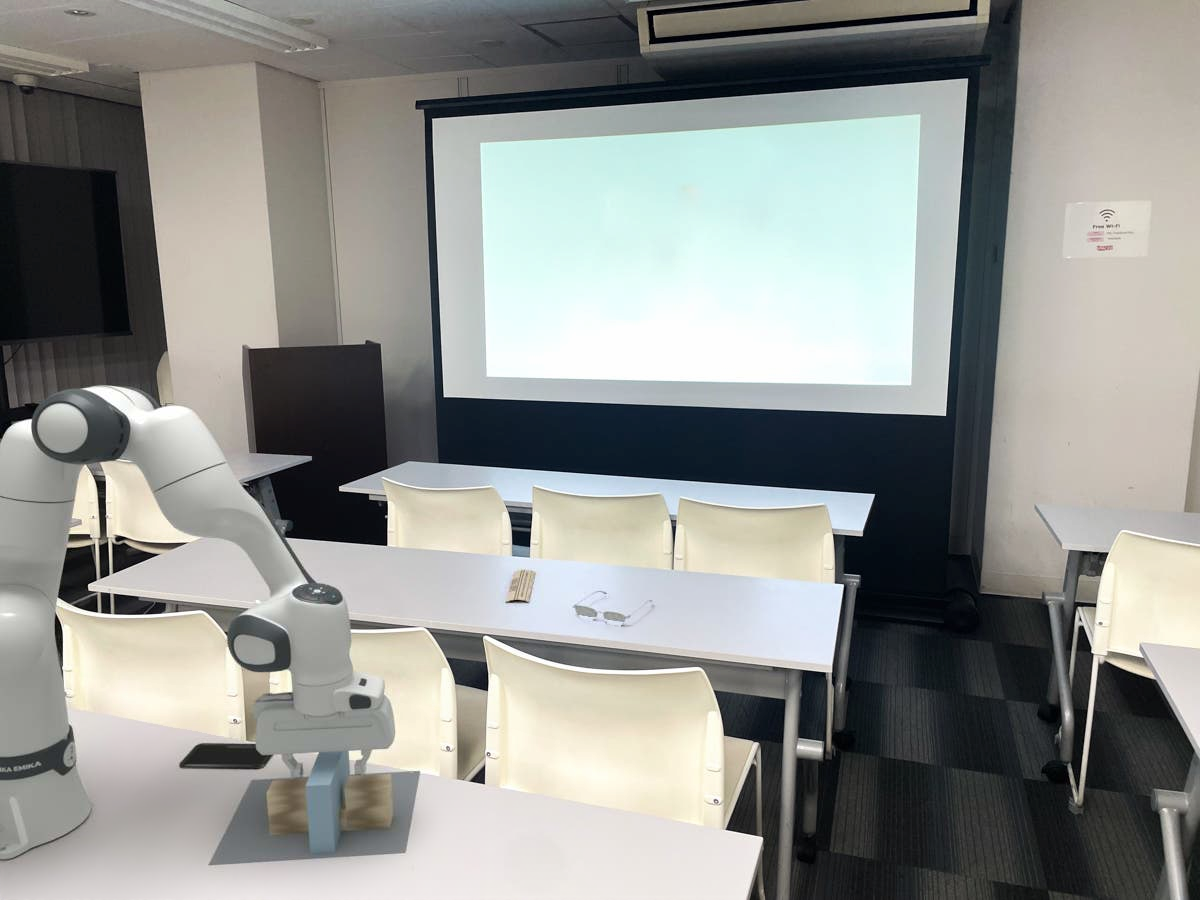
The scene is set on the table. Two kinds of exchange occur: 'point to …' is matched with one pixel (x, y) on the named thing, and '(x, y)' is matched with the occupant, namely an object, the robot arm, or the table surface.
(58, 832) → the robot arm
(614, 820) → the table surface
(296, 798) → the beech rail
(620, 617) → the eyeglasses
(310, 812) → the blue plate
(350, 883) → the table surface
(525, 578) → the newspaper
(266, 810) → the mat
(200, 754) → the phone
